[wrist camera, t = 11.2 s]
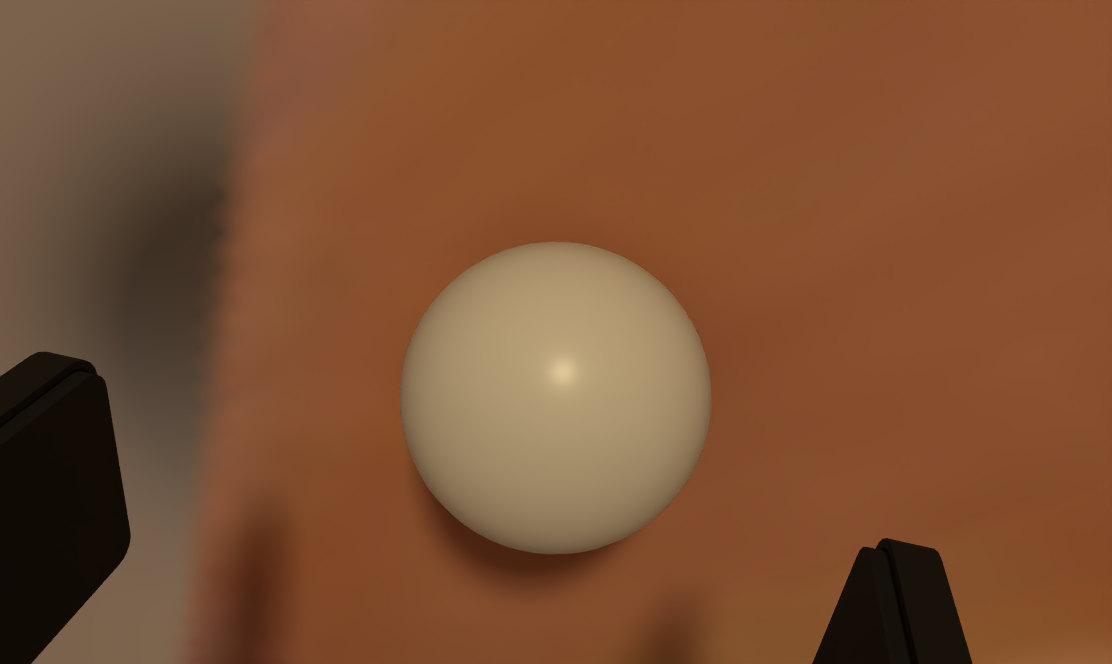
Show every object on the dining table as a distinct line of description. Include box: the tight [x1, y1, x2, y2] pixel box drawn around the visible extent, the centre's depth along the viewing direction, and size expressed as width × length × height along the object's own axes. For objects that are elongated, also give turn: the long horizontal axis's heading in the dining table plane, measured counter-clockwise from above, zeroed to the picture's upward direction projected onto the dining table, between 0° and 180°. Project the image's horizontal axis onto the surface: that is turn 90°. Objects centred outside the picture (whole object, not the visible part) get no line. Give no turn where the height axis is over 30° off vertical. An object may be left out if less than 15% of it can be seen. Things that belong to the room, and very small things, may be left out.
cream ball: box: [400, 242, 711, 554], centre depth 14 cm, size 5×5×5 cm
